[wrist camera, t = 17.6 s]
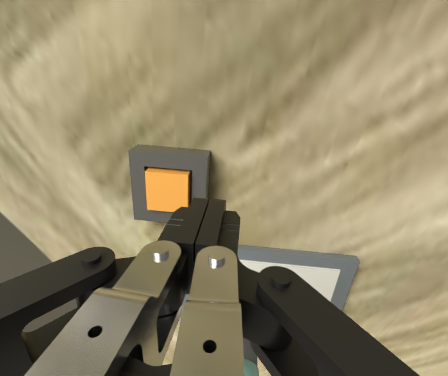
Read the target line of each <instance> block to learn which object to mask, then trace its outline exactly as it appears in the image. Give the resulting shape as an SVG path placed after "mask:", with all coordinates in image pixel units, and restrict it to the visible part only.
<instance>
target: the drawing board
mask: <svg viewBox="0 0 448 376" xmlns="http://www.w3.org/2000/svg"><path fill="white" fill-rule="evenodd" d="M238 258H239V260H240V262H241V263H242V264H243V265H244V266H246V267H247V268H249V269H251V270H254V271H257V272H259V273H260V272H261V270H263V269H264V268H266V267H270V266H281V267H285V268H288V269H290V270H292V271H294V272H295V273H296V274H298V275H299V276H300V277H301V278H302V279H304V280H305V281H306V282H307V283H308V284H310V285H311V286H312V287H313V288H314V289H316V290H317V291H318V292H319V293H320V294H322V295H323V296H324V297H325V298H326V299H328V300H329V301H330V302H331V303H333V304H334V305H335V306H336V307H337V308H339V309H340V310H341V311H342V310H343V307H344V304H345V301H346V298H347V296H348V293H349V290H350V287H351V284H352V281H353V279H354V276H355V273H356V270H357V267H358V265H359V262H360V261H359V260H358V258H357V257H356V256H349V255H339V254H329V253H318V252H308V251H297V250H287V249H277V248H266V247H256V246H245V245H238ZM188 299H189V294H185V298H184V301H183V304H182V313H183V308H184V304H185V301H186V300H188ZM182 313H181V318H182Z"/></svg>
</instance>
